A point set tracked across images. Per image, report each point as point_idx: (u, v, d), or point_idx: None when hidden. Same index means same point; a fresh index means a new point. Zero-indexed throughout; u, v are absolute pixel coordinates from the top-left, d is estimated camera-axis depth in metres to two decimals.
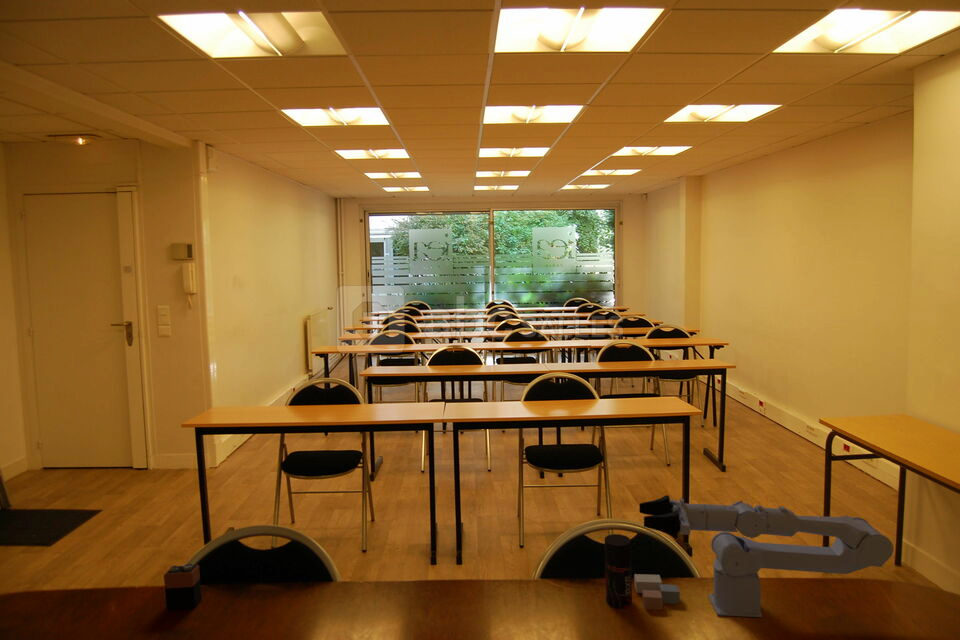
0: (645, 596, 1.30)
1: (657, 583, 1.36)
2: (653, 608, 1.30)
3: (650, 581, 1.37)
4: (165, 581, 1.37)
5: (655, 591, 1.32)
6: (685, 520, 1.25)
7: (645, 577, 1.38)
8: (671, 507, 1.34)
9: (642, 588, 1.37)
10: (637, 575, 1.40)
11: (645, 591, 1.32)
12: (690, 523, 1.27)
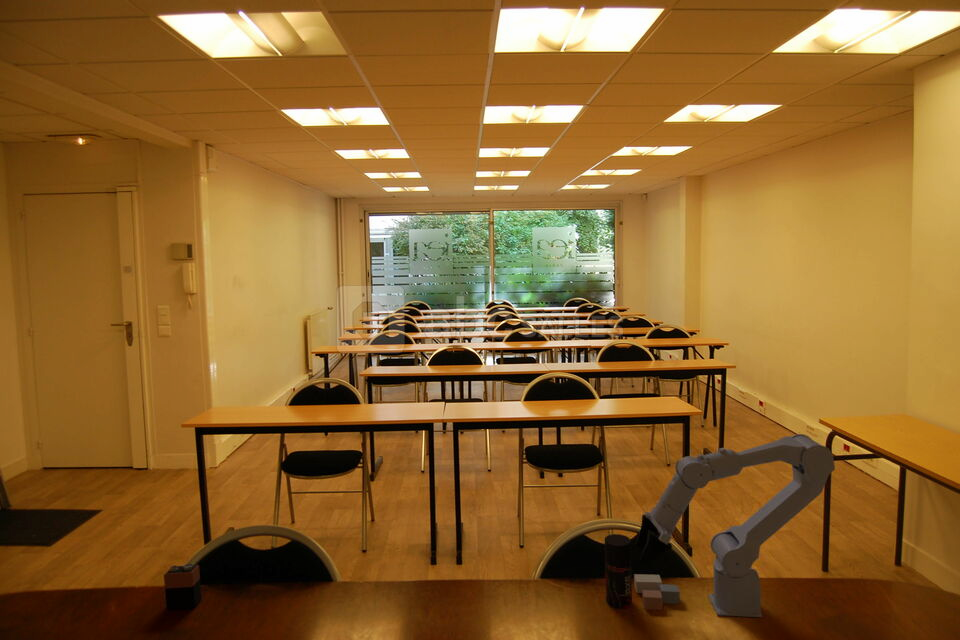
0: (645, 596, 1.30)
1: (657, 583, 1.36)
2: (653, 608, 1.30)
3: (650, 581, 1.37)
4: (165, 581, 1.37)
5: (655, 591, 1.32)
6: (659, 530, 1.25)
7: (645, 577, 1.38)
8: None
9: (642, 588, 1.37)
10: (637, 575, 1.40)
11: (645, 591, 1.32)
12: (667, 523, 1.27)
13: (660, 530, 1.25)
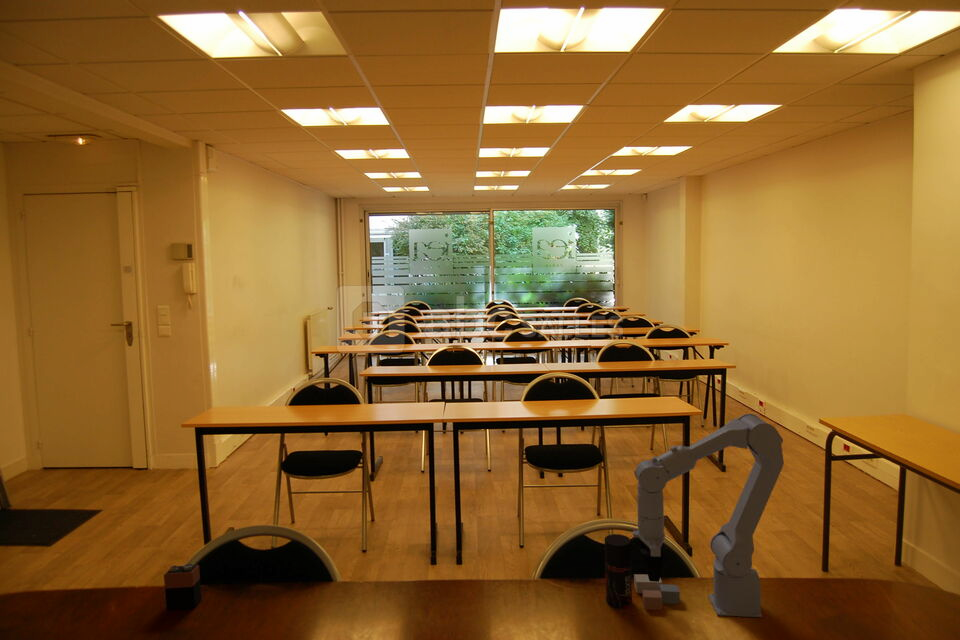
0: (645, 596, 1.30)
1: (657, 583, 1.36)
2: (653, 608, 1.30)
3: (650, 581, 1.37)
4: (165, 581, 1.37)
5: (655, 591, 1.32)
6: (648, 546, 1.25)
7: (645, 577, 1.38)
8: None
9: (642, 588, 1.37)
10: (637, 575, 1.40)
11: (645, 591, 1.32)
12: (654, 534, 1.27)
13: (648, 546, 1.25)
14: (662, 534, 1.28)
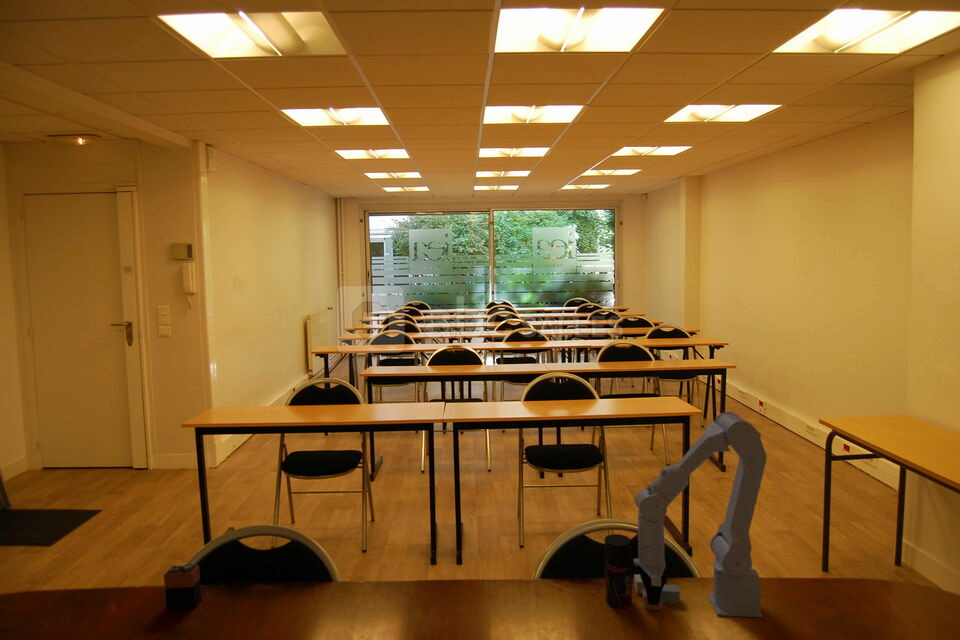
0: (645, 595, 1.30)
1: None
2: (653, 607, 1.30)
3: None
4: (165, 581, 1.37)
5: None
6: (648, 575, 1.26)
7: None
8: None
9: (642, 588, 1.37)
10: (637, 575, 1.39)
11: (645, 590, 1.32)
12: (654, 563, 1.28)
13: (649, 575, 1.25)
14: (663, 563, 1.29)
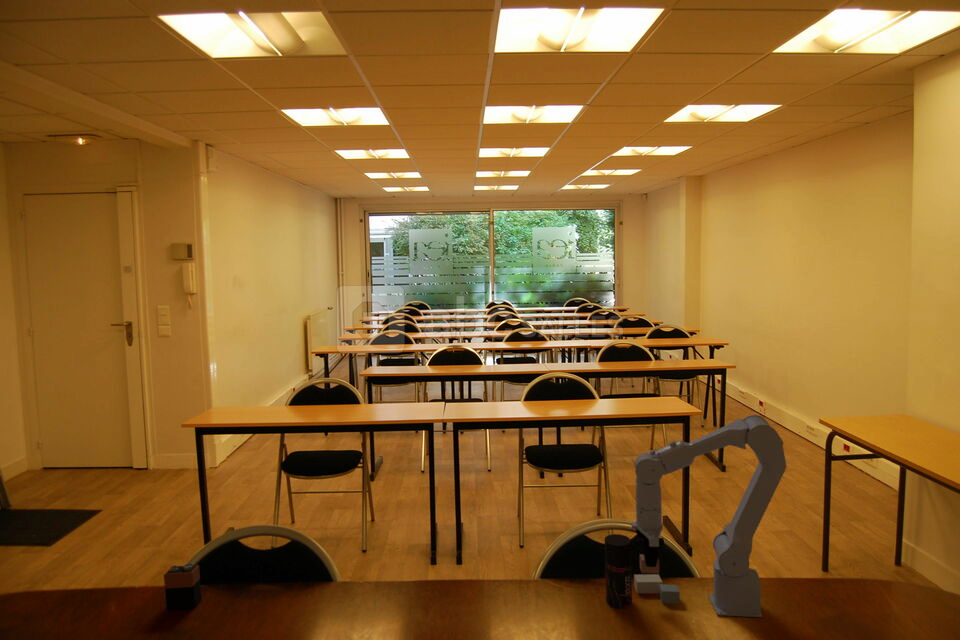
0: (642, 559, 1.33)
1: (657, 583, 1.36)
2: (650, 571, 1.32)
3: (650, 581, 1.37)
4: (165, 581, 1.37)
5: None
6: (646, 536, 1.28)
7: (645, 577, 1.38)
8: None
9: (642, 588, 1.37)
10: (637, 575, 1.39)
11: (642, 555, 1.35)
12: (652, 525, 1.30)
13: (647, 536, 1.28)
14: (660, 525, 1.31)
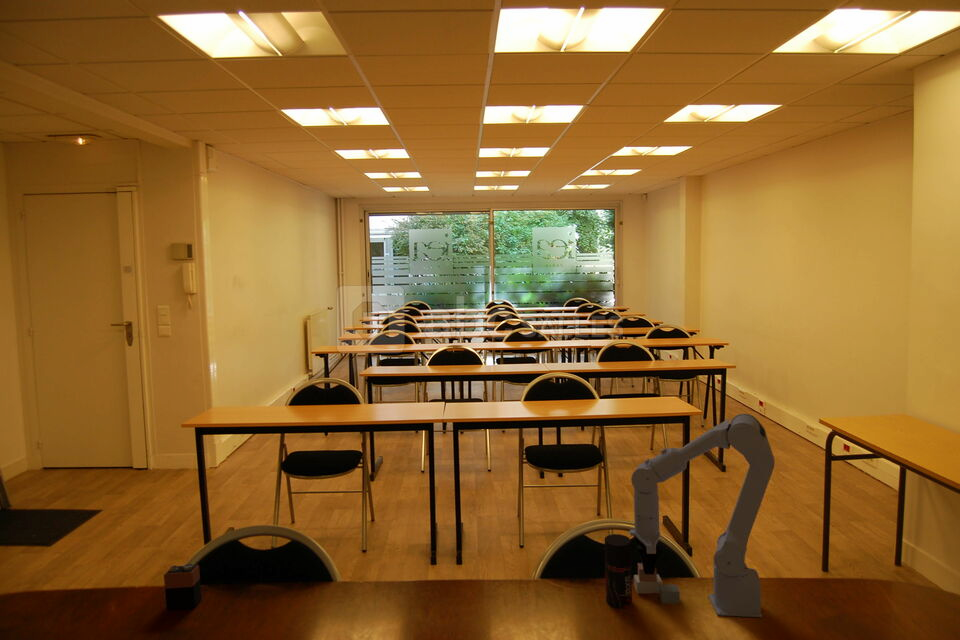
0: (640, 568, 1.37)
1: (657, 583, 1.36)
2: (648, 580, 1.37)
3: None
4: (165, 581, 1.37)
5: None
6: (644, 543, 1.32)
7: None
8: None
9: (643, 589, 1.37)
10: (637, 576, 1.39)
11: (640, 564, 1.39)
12: (650, 533, 1.34)
13: (644, 543, 1.32)
14: (657, 532, 1.35)
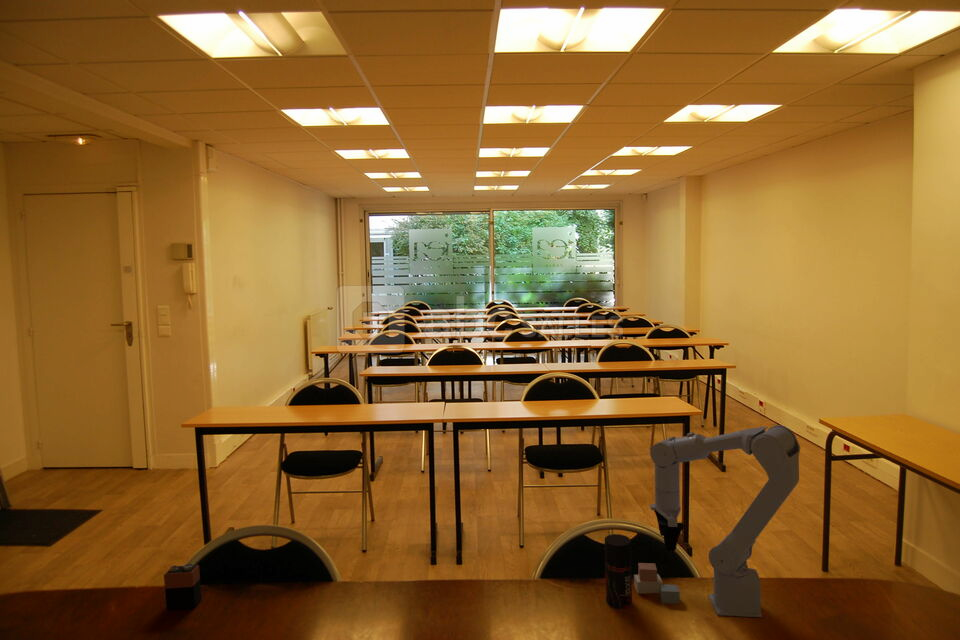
0: (641, 568, 1.37)
1: (658, 583, 1.36)
2: (648, 579, 1.37)
3: None
4: (165, 581, 1.37)
5: (650, 564, 1.39)
6: (665, 517, 1.34)
7: None
8: None
9: (643, 589, 1.37)
10: (637, 575, 1.39)
11: (641, 564, 1.39)
12: (670, 507, 1.36)
13: (666, 517, 1.34)
14: (678, 507, 1.37)
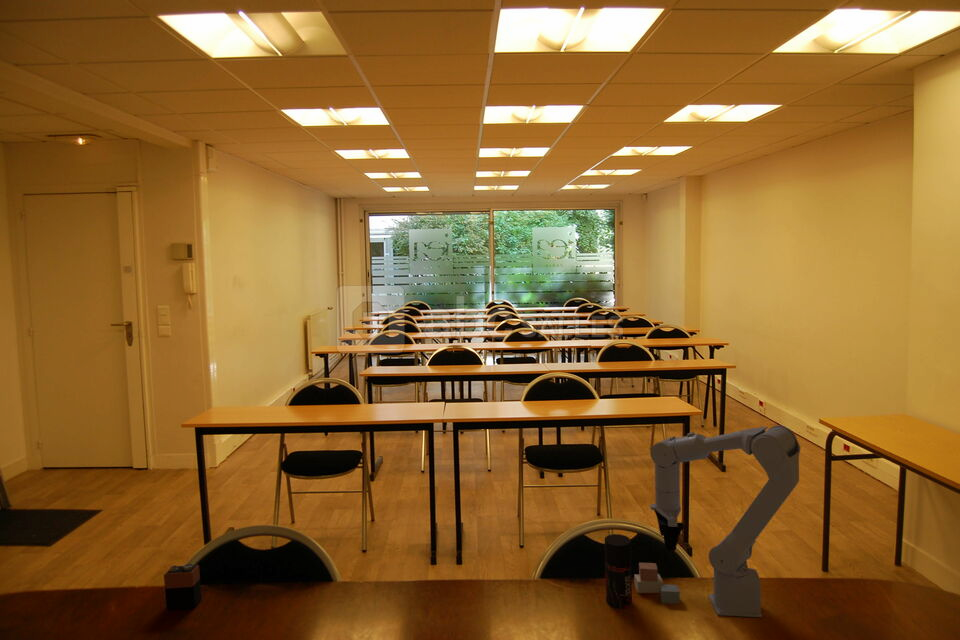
0: (641, 568, 1.37)
1: (658, 582, 1.37)
2: (649, 579, 1.37)
3: None
4: (165, 581, 1.37)
5: (651, 564, 1.39)
6: (665, 517, 1.34)
7: None
8: None
9: (643, 588, 1.37)
10: (637, 575, 1.40)
11: (641, 563, 1.39)
12: (671, 506, 1.36)
13: (666, 517, 1.34)
14: (678, 507, 1.37)
